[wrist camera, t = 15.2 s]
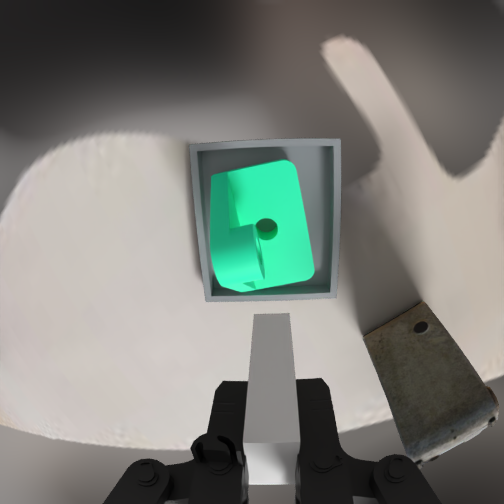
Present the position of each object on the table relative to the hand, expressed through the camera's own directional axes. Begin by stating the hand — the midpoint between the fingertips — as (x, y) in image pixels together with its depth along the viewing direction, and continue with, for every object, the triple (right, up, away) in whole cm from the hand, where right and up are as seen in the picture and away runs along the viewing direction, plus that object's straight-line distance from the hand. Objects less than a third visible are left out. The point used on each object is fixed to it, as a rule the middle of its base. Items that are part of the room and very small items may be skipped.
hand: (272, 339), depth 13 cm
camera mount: (+1, +7, +19) cm, 20 cm away
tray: (+1, +7, +19) cm, 20 cm away
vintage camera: (+21, -10, +25) cm, 34 cm away
